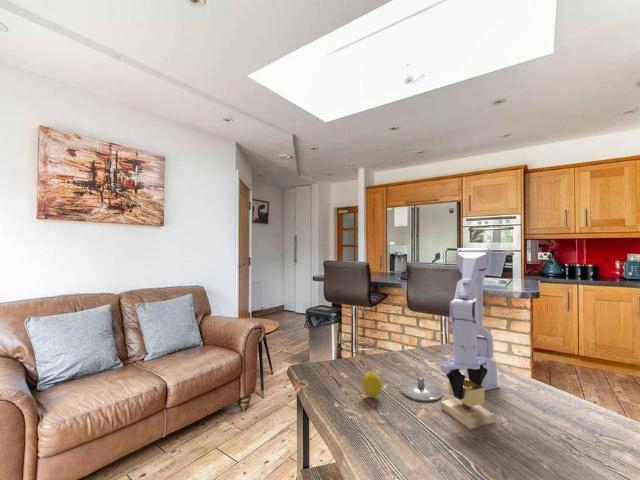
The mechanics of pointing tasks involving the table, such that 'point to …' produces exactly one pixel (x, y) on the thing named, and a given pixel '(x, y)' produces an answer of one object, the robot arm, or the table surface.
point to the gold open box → (470, 393)
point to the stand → (467, 413)
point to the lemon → (371, 384)
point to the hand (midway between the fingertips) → (466, 395)
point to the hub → (421, 390)
